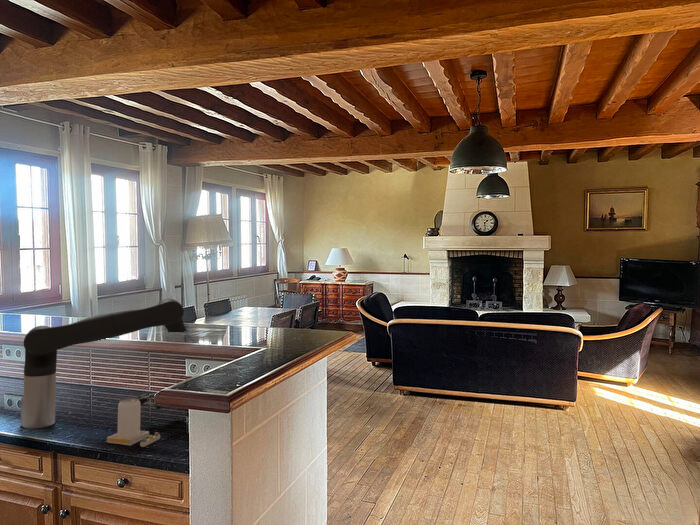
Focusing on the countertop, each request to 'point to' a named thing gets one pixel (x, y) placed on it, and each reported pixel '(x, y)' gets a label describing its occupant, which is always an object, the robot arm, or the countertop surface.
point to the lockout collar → (117, 440)
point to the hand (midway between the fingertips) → (146, 405)
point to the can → (129, 418)
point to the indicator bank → (150, 439)
